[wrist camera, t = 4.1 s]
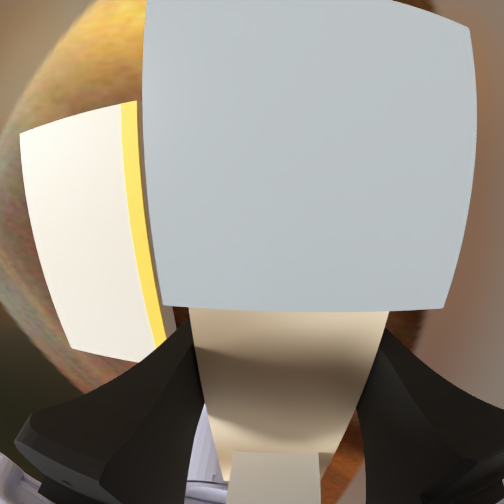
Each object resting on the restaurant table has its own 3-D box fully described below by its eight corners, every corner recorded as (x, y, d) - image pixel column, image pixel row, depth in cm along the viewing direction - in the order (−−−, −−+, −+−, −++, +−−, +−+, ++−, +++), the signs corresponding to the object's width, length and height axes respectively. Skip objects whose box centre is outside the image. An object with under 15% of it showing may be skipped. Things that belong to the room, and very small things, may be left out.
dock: (181, 350, 22) (173, 368, 20) (82, 335, 22) (71, 348, 21) (152, 103, 15) (136, 100, 13) (37, 131, 15) (18, 133, 13)
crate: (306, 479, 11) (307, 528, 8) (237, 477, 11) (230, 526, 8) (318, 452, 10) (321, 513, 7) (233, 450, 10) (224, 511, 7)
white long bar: (315, 427, 15) (318, 483, 11) (232, 425, 15) (223, 480, 12) (363, 73, 8) (414, 43, 4) (213, 68, 8) (173, 31, 4)
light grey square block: (376, 229, 6) (442, 308, 3) (212, 225, 6) (163, 305, 3) (384, 66, 4) (468, 28, 2) (208, 58, 5) (147, -1, 2)
